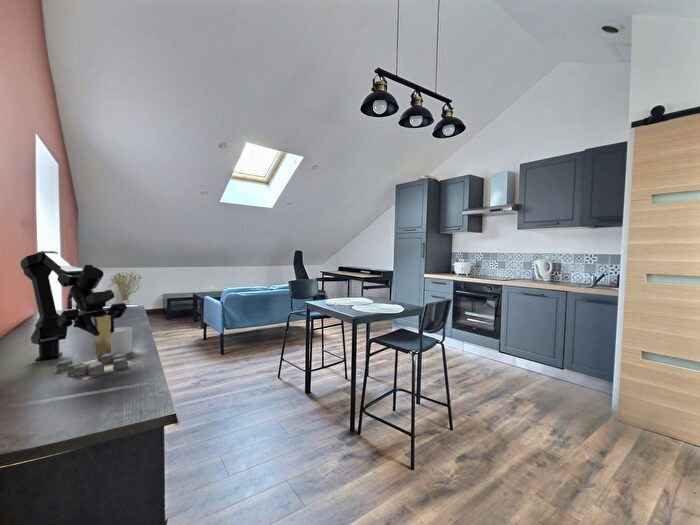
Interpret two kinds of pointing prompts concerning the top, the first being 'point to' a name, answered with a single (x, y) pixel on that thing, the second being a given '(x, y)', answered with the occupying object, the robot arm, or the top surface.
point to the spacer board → (94, 365)
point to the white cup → (121, 340)
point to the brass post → (103, 334)
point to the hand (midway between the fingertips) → (105, 333)
